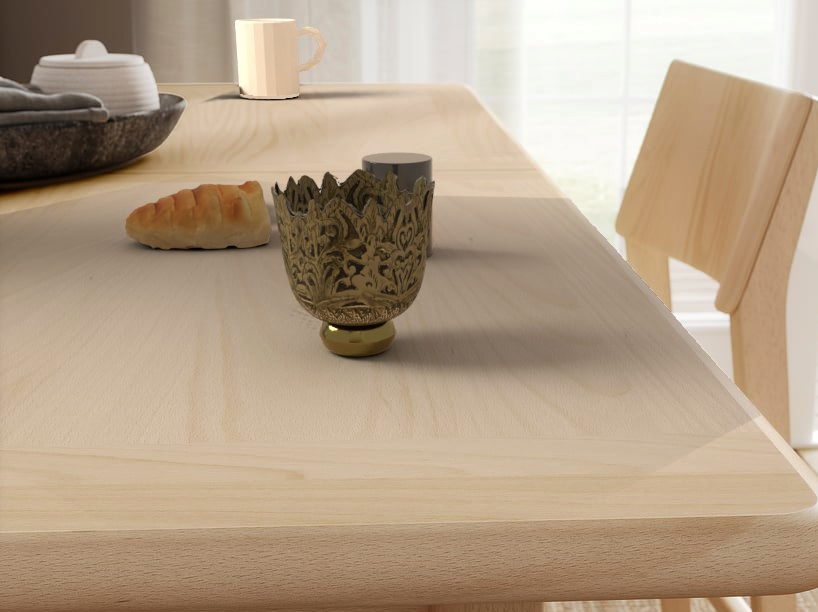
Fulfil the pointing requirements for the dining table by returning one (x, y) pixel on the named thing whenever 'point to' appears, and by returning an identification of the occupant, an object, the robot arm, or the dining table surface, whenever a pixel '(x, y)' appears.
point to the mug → (272, 56)
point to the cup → (354, 254)
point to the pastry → (204, 218)
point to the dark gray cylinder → (402, 173)
